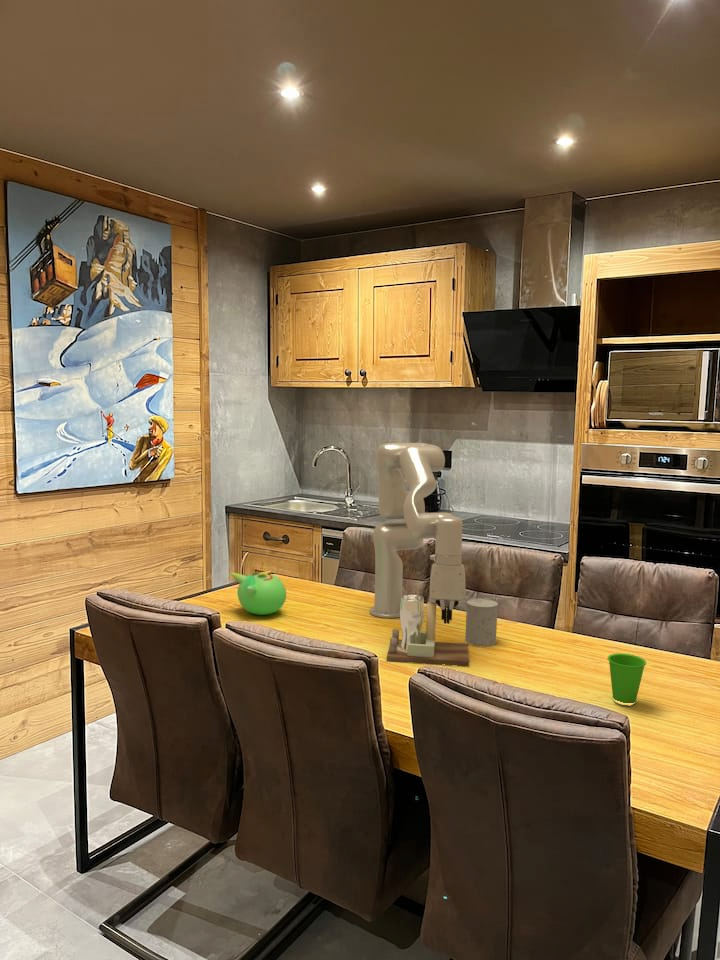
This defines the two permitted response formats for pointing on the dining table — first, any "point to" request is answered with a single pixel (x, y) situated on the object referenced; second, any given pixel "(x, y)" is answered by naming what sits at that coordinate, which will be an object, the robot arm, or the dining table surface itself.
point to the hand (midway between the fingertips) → (446, 622)
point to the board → (442, 655)
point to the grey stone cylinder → (481, 622)
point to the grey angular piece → (426, 636)
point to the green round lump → (260, 592)
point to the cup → (625, 676)
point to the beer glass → (411, 619)
